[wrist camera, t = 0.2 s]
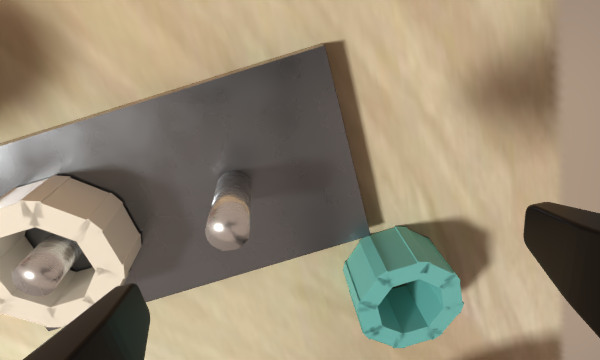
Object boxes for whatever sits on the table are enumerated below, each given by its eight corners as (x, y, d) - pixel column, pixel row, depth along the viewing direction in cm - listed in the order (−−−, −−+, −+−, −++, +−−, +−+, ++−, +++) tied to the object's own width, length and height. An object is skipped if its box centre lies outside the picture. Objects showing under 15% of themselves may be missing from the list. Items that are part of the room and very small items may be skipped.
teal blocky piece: (440, 288, 28) (467, 329, 24) (355, 313, 28) (370, 358, 24) (428, 216, 25) (457, 250, 21) (335, 243, 25) (348, 282, 22)
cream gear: (160, 268, 23) (146, 302, 20) (46, 302, 23) (17, 340, 20) (99, 160, 20) (74, 183, 17) (-32, 201, 20) (-78, 230, 17)
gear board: (365, 225, 25) (396, 287, 19) (57, 317, 25) (-1, 403, 20) (320, 43, 20) (345, 54, 14) (-61, 162, 20) (-183, 218, 15)
